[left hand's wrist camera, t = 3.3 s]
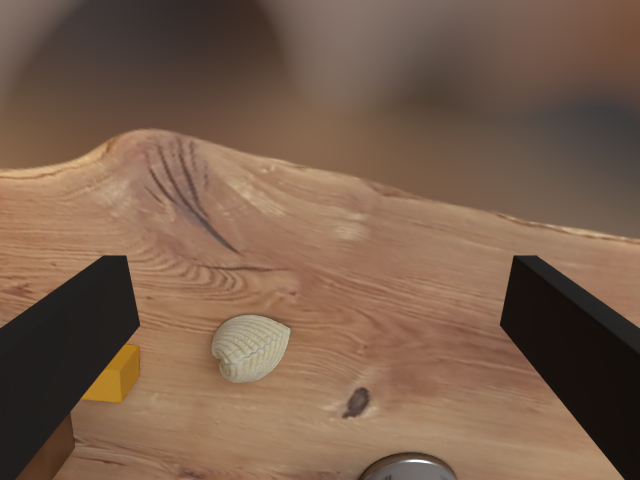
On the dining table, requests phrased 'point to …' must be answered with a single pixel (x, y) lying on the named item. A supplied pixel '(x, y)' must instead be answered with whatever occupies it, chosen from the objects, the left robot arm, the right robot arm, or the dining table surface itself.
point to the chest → (51, 454)
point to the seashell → (249, 347)
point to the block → (116, 377)
